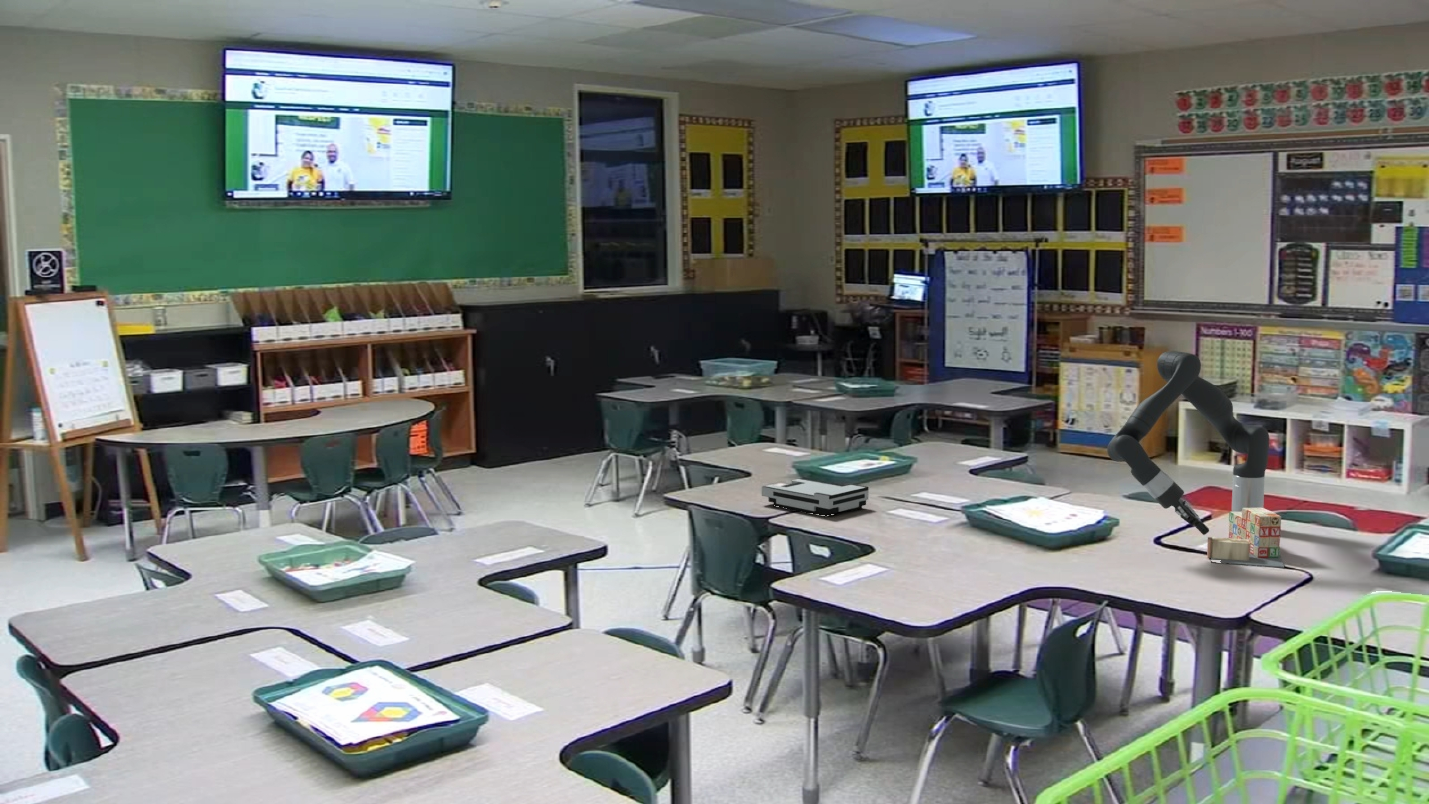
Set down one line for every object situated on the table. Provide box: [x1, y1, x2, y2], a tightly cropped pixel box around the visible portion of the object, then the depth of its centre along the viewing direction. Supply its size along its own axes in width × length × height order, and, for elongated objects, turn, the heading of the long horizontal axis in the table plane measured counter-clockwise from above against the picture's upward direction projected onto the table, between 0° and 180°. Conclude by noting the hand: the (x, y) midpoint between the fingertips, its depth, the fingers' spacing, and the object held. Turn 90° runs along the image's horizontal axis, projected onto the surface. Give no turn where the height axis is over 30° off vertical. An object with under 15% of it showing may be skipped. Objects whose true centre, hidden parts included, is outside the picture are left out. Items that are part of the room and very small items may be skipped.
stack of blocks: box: [1228, 507, 1282, 557], centre depth 358 cm, size 21×6×12 cm, turn 179°
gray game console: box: [761, 478, 869, 516], centre depth 427 cm, size 21×32×8 cm, turn 43°
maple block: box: [1206, 536, 1250, 561], centre depth 349 cm, size 5×5×11 cm
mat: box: [1210, 552, 1285, 569], centre depth 348 cm, size 13×19×1 cm
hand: (1206, 532), depth 350 cm, fingers closed
